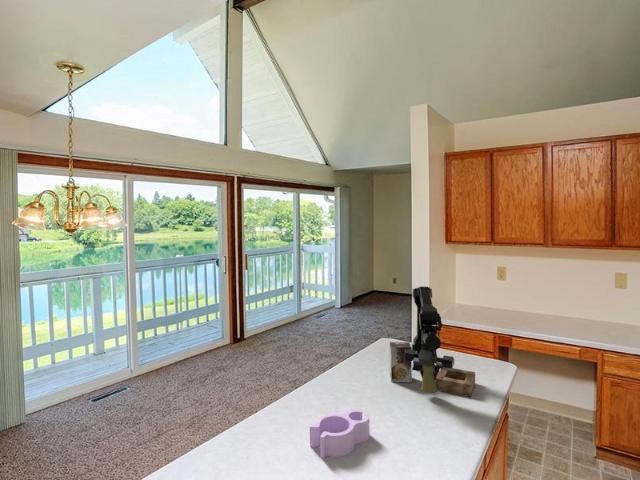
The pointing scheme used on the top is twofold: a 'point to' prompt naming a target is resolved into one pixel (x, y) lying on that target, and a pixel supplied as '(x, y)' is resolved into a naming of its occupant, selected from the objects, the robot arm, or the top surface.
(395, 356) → the coffee box
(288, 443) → the top surface
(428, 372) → the olive tall rounded piece
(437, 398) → the top surface
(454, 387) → the well block
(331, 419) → the clip
